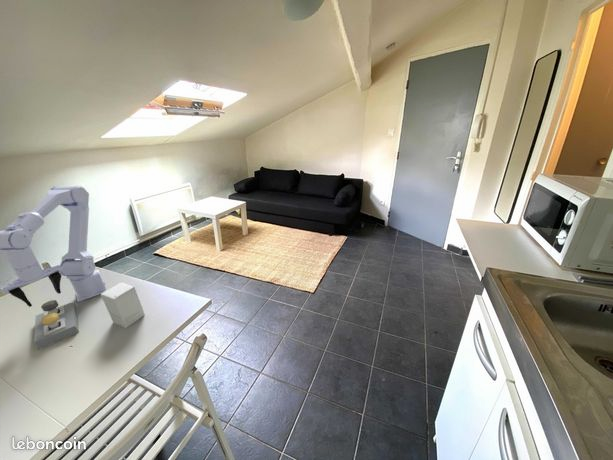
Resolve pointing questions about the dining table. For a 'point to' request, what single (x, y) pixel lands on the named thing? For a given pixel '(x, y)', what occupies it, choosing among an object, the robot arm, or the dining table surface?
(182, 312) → the dining table surface
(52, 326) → the knob
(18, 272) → the robot arm
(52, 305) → the knob
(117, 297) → the supplement box
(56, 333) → the mount plate
